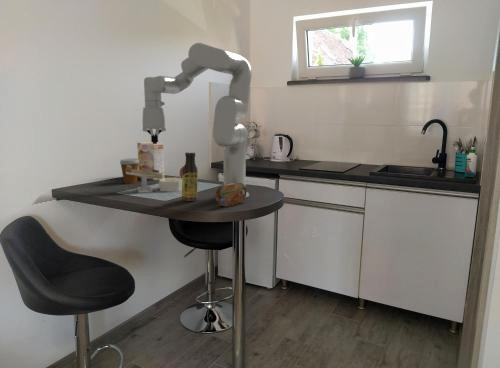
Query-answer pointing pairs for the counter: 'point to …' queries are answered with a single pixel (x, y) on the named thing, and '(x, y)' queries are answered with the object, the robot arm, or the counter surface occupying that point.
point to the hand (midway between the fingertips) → (154, 143)
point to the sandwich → (230, 194)
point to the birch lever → (143, 172)
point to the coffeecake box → (151, 157)
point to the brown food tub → (134, 165)
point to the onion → (182, 171)
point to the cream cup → (170, 184)
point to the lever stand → (144, 185)
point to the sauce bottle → (189, 178)
